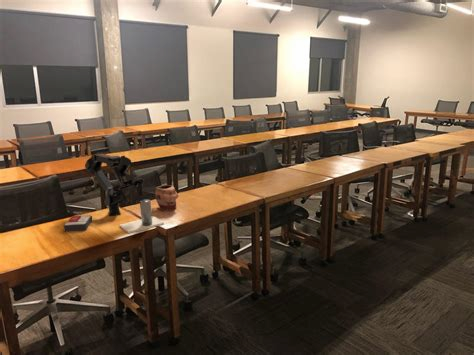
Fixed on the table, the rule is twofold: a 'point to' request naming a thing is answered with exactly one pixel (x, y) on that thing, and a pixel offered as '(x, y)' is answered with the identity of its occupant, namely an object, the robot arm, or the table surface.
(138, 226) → the tile
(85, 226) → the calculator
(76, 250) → the table surface
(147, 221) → the tin
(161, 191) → the decorative planter
